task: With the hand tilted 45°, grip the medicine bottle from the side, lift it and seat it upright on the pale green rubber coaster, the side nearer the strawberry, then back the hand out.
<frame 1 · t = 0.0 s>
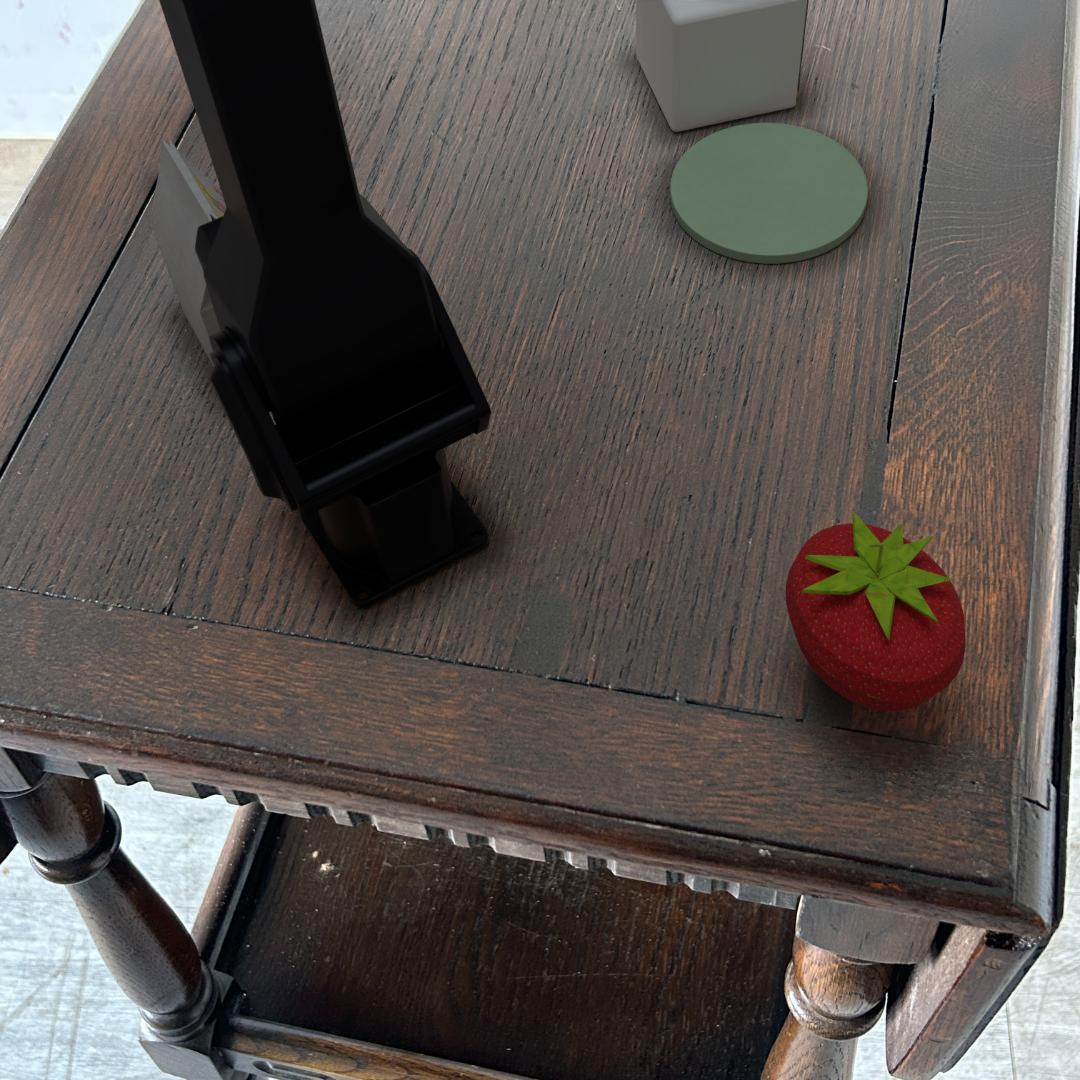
tea bag: (243, 343, 68), on the table
strawberry: (854, 687, 56), on the table
coaster: (767, 195, 72), on the table
medicine bottle: (714, 85, 78), on the table
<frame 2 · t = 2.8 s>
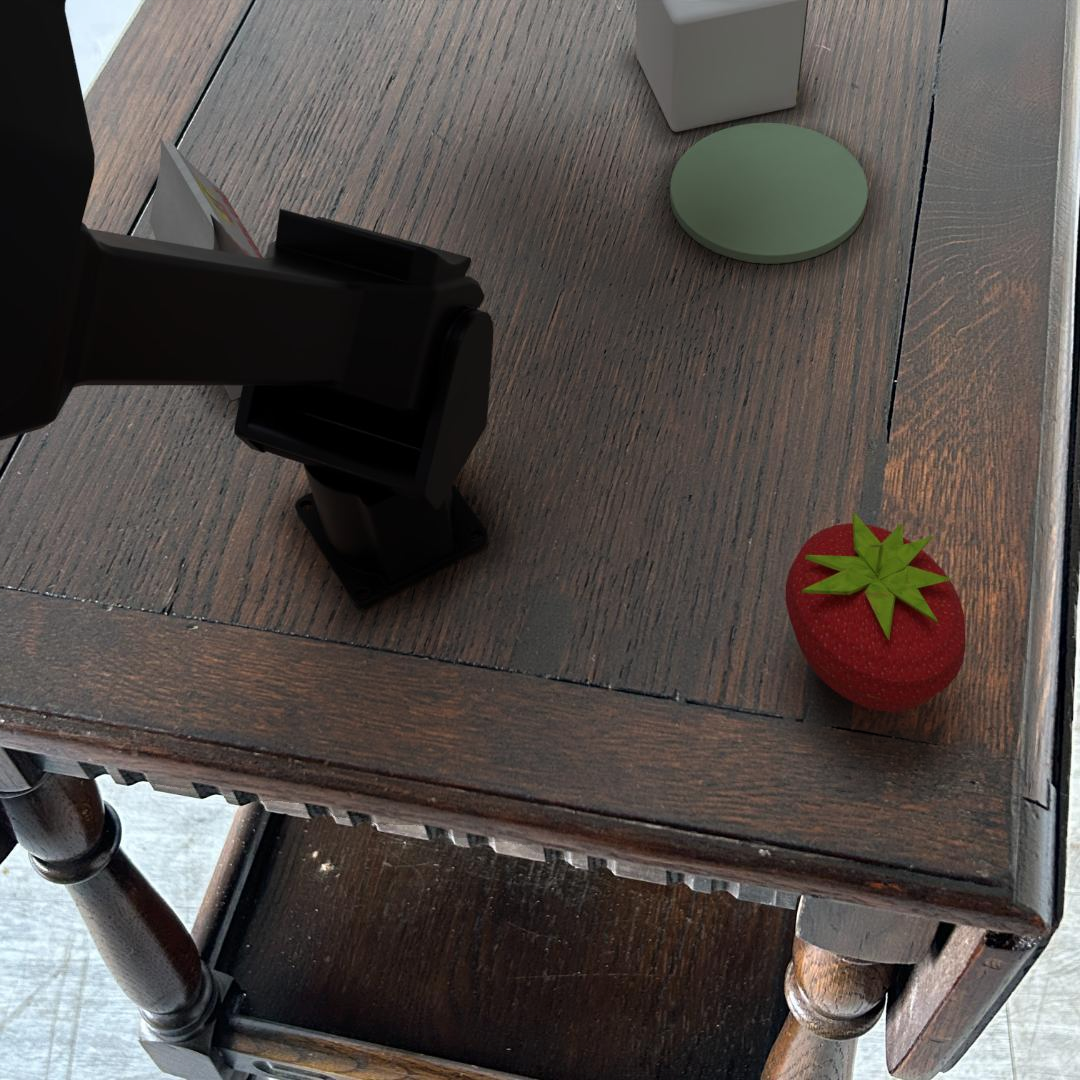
nothing on the table moved.
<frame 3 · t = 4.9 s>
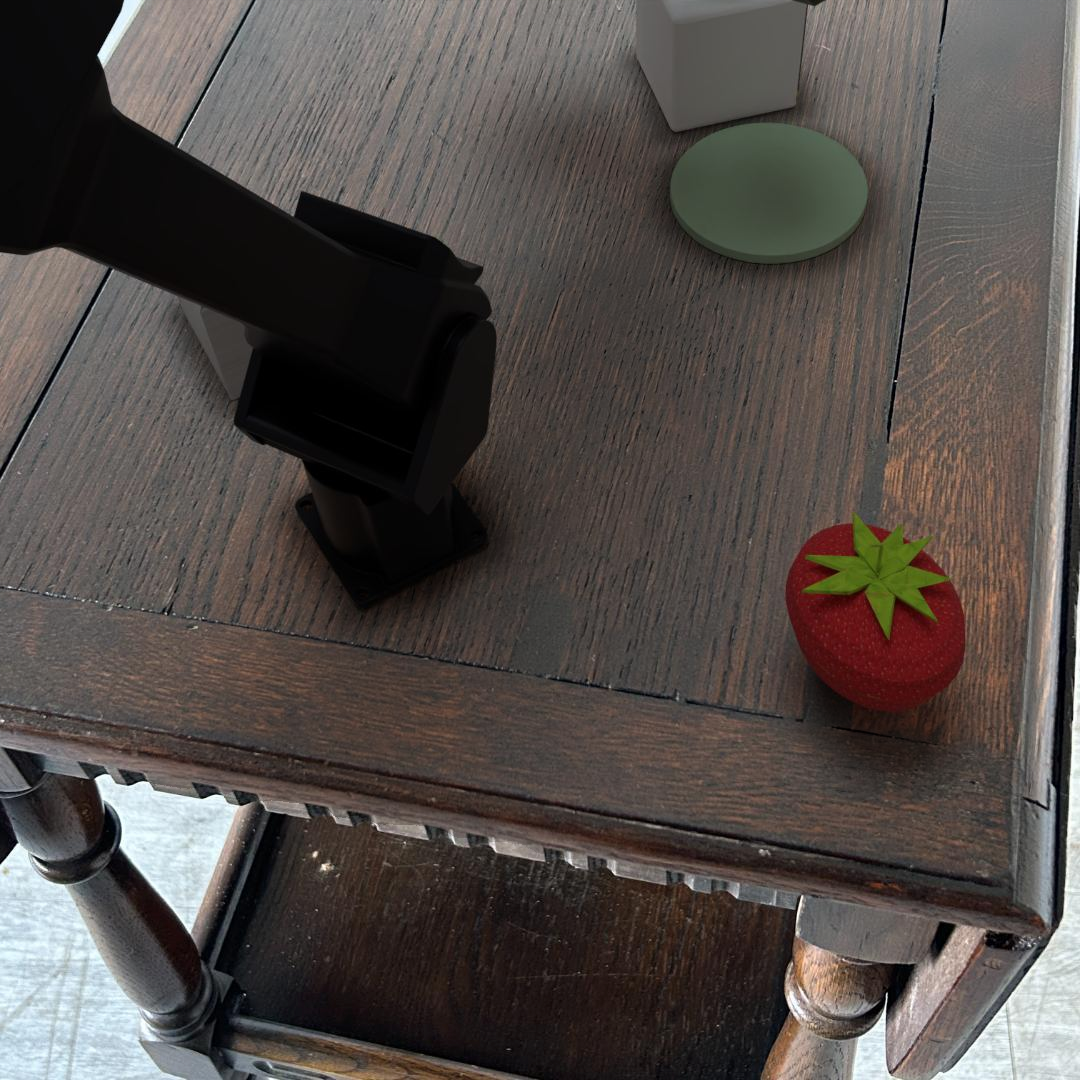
nothing on the table moved.
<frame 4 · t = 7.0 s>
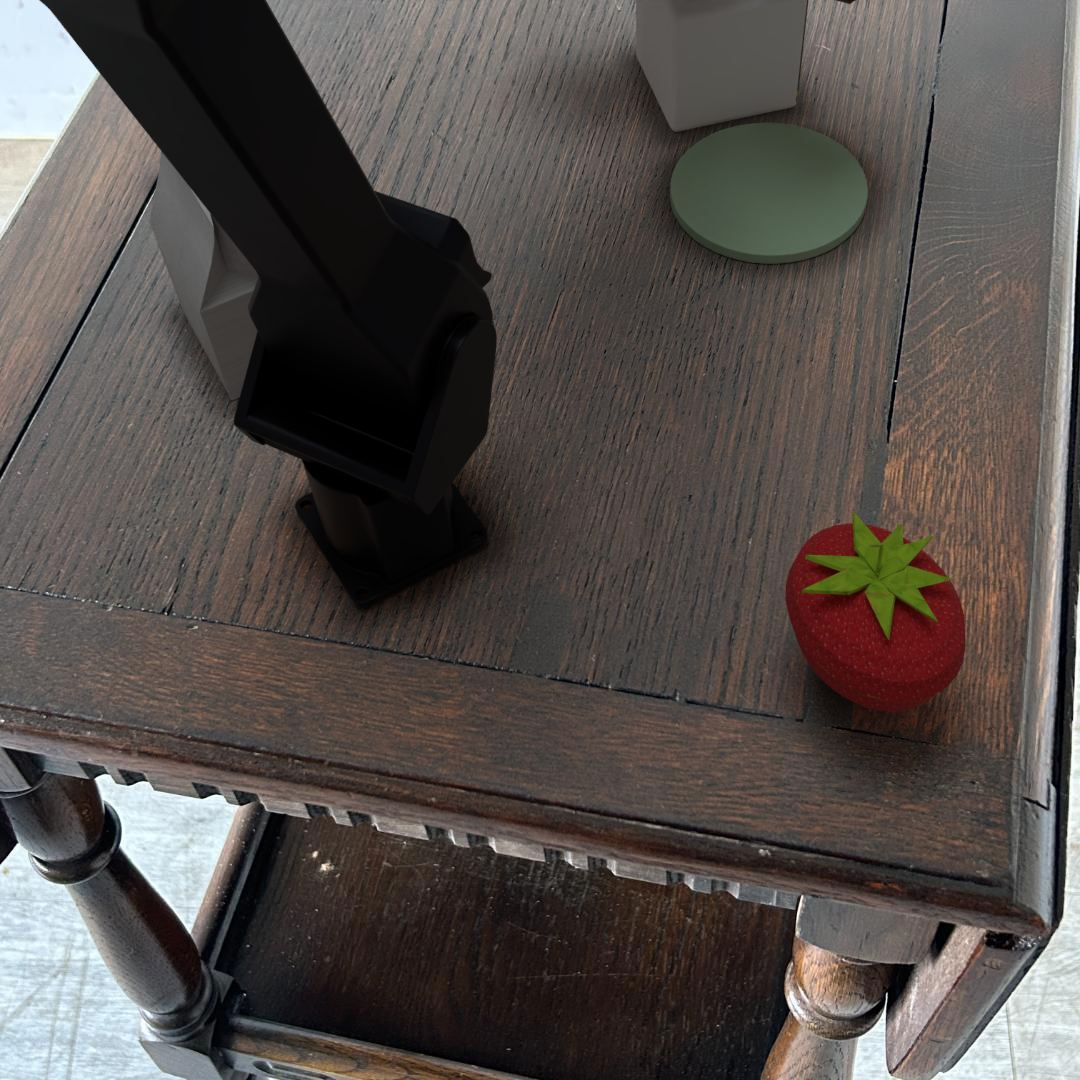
medicine bottle: (714, 85, 78), on the table, touching gripper
everything else where it was.
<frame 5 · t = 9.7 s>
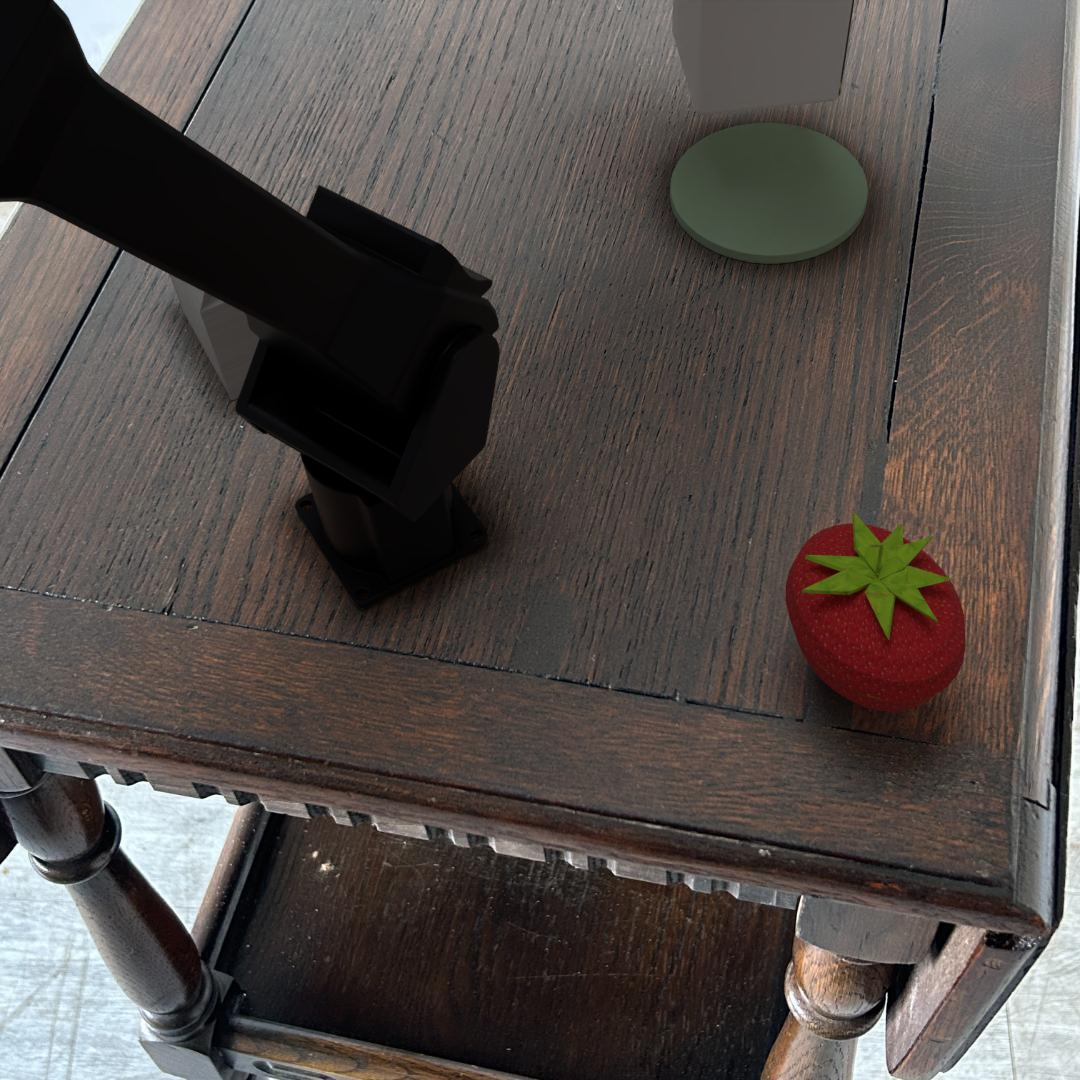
medicine bottle: (753, 70, 70), point 5 cm above the table, touching gripper
everything else where it was.
when the fingers open (9 cm above the table, at t = 12.4 s): medicine bottle stays where it is, resting on coaster.
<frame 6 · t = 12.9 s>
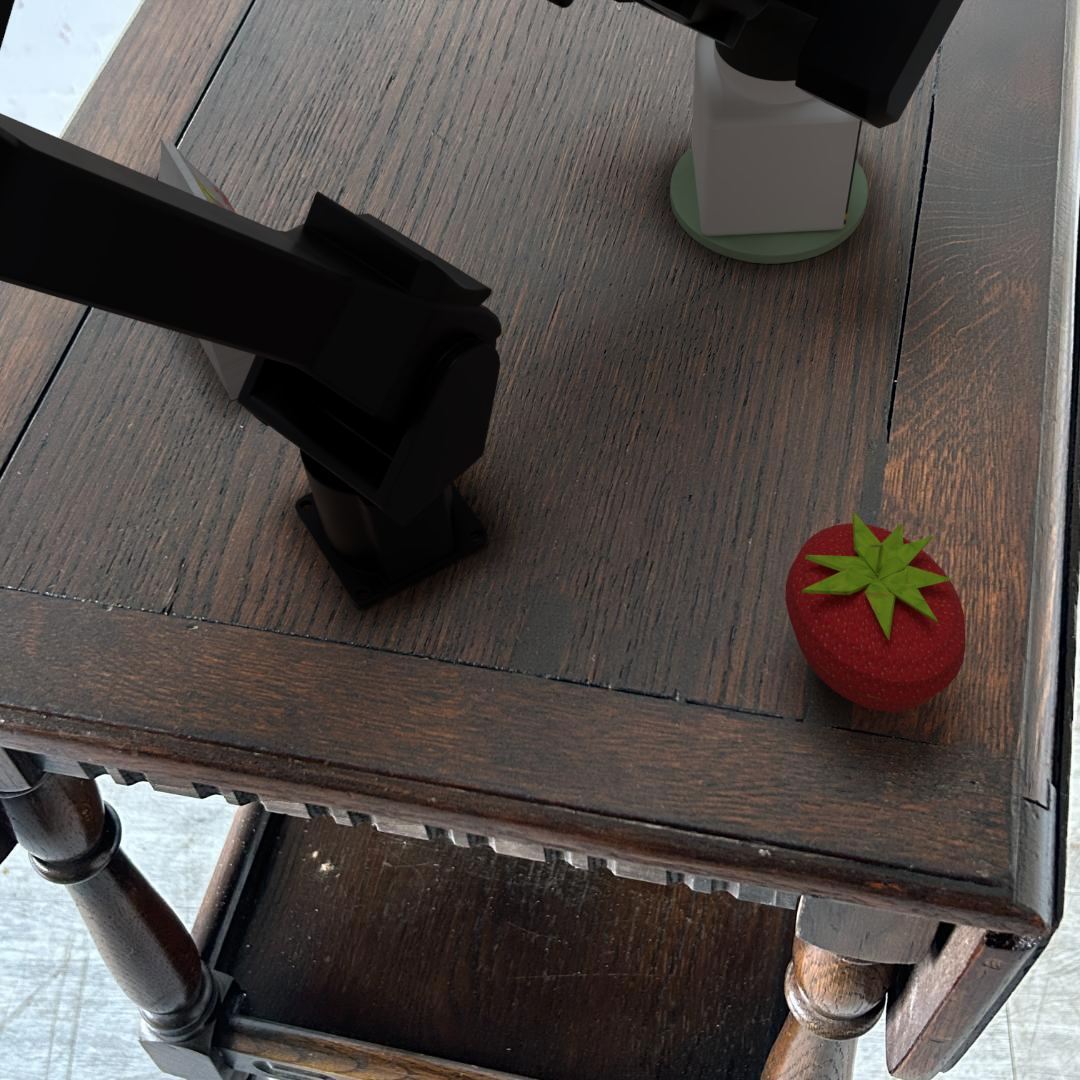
hand: (801, 23, 65), 9 cm above the table, tool tilted 45°, fingers open, 9 cm apart
medicine bottle: (765, 190, 72), resting on coaster
everything else where it was.
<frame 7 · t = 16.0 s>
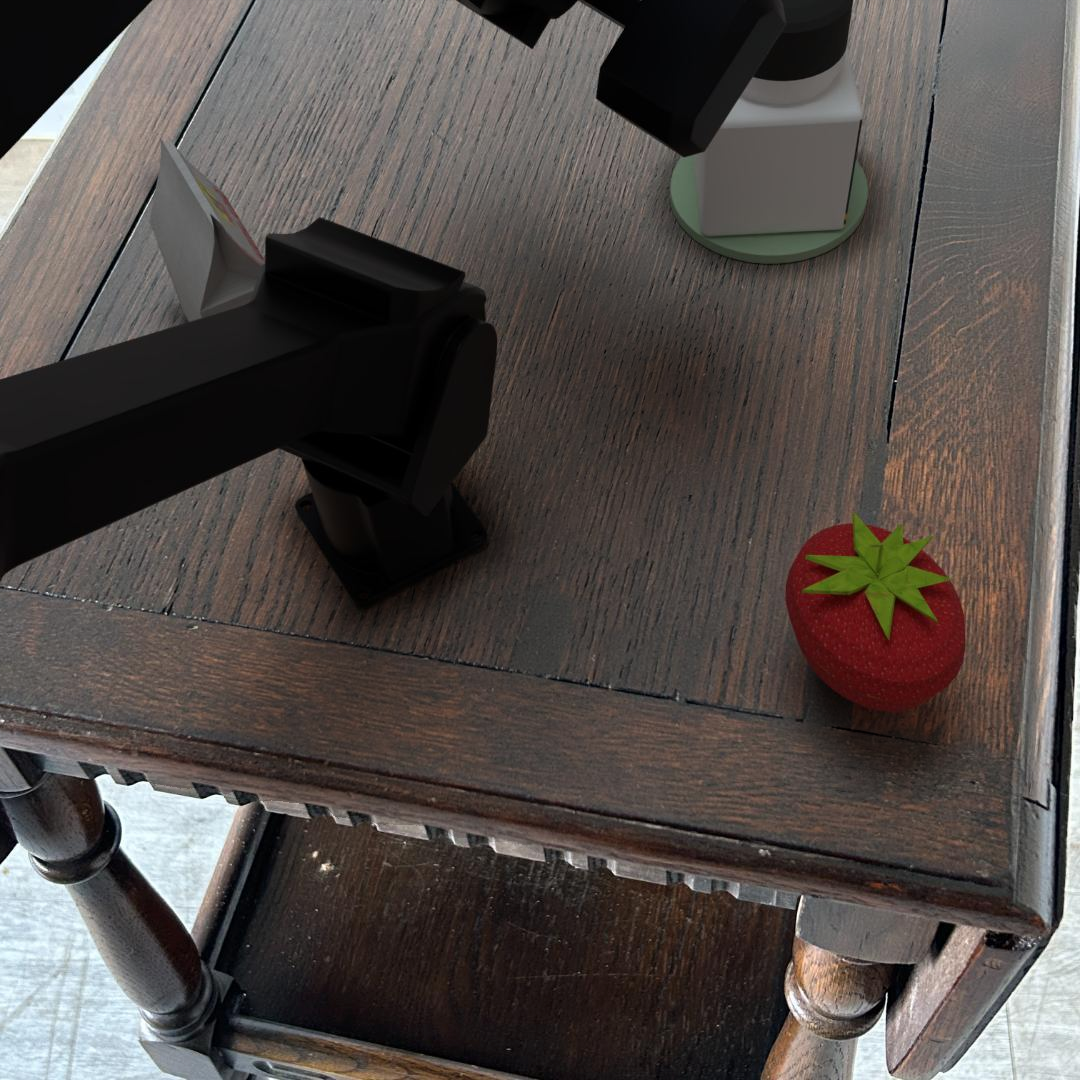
hand: (622, 35, 59), 13 cm above the table, tool tilted 40°, fingers open, 9 cm apart
nothing on the table moved.
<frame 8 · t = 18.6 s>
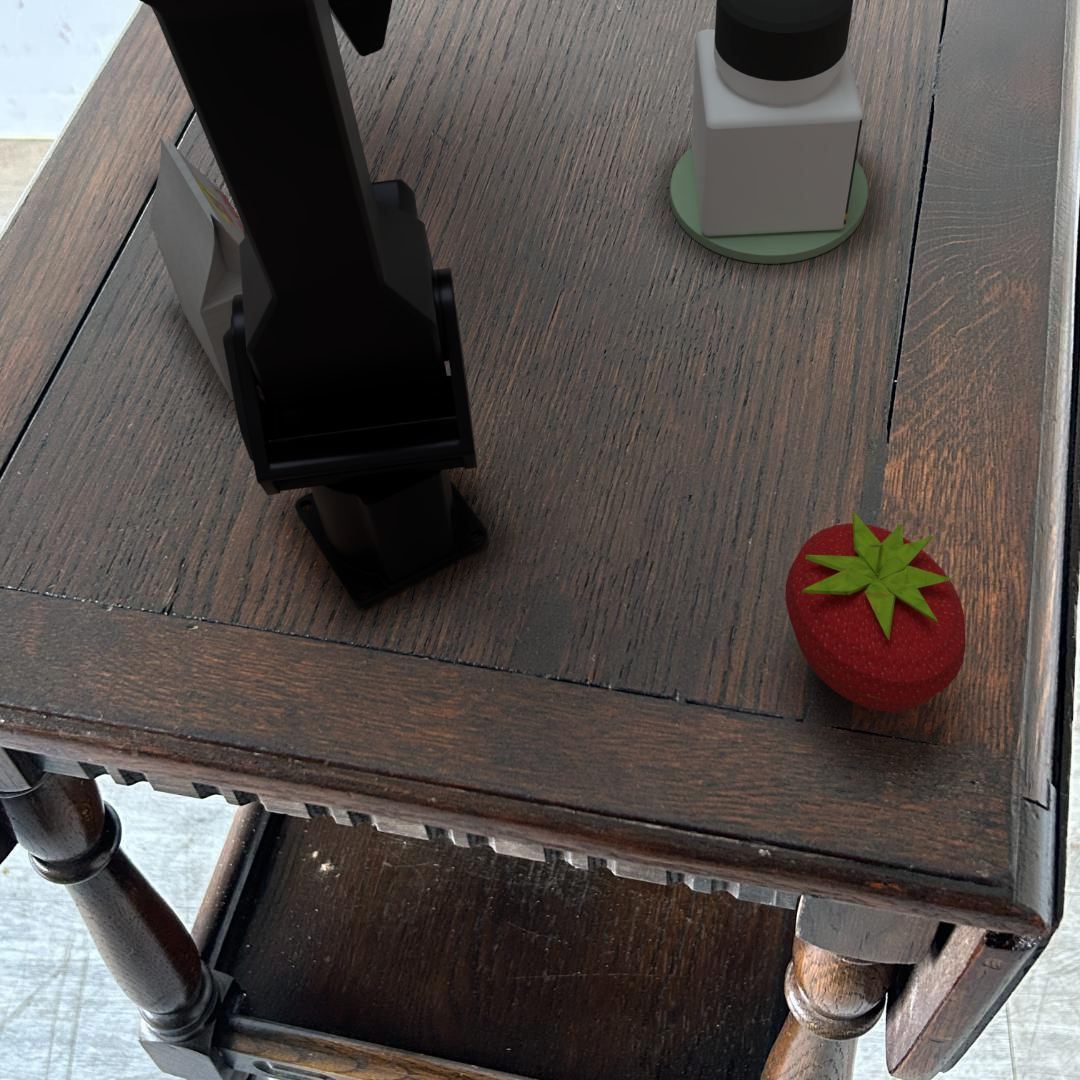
nothing on the table moved.
at the end: medicine bottle 0.2 cm off-centre on the coaster, point 0.4 cm above the coaster's base; medicine bottle tilted 0°; medicine bottle 28.5 cm from the strawberry (horizontally) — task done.
